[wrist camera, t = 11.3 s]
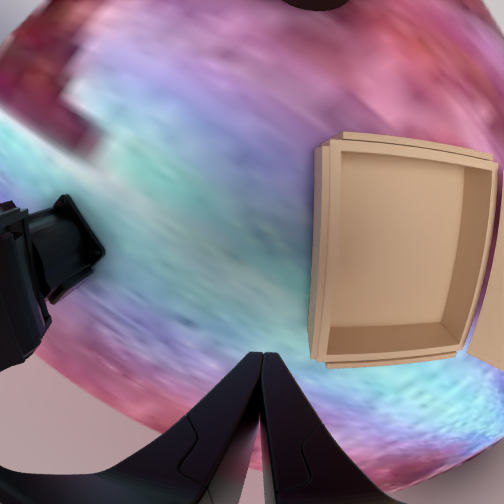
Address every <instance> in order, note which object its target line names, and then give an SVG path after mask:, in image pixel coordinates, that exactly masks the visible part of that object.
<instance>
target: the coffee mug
mask: <svg viewBox="0 0 504 504" xmlns="http://www.w3.org/2000/svg"><path fill="white" fill-rule="evenodd" d="M283 1H284V2H286V3H288V4H290V5H292V6H295V7H297V8H301V9H305V10H312V11H326V10H332V9H335V8H338V7H340V6H342V5H343V4H345V3H346V2H347V1H348V0H283Z"/></svg>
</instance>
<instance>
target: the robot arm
mask: <svg viewBox="0 0 504 504" xmlns="http://www.w3.org/2000/svg"><path fill="white" fill-rule="evenodd" d="M64 199H65V202H64ZM98 251H99V252H100V254H99V253H98ZM104 255H105V250H104V248H103V247H102V246H101V244H100V243H99V241H98V240H97V238H96V237H95V235H94V234H93V233H92V231H91V230H90V228H89V227H88V225H87V224H86V222H85V221H84V219H83V218H82V216H81V214H80V213H79V211H78V210H77V208H76V207H75V205H74V203H73V202H72V200H71V199H70V197H69V196H68V195H67V194H64V195H61V196H60V197H59V199H58V200H57V201H56V203H55V204H54V205H53V207H51V208H48V209H45V210H41V211H38V212H35V213H32V214H29V213H28V209H20V208H18V207H16V206H15V204H14V203H13V201H7V202H4V203H0V372H1V371H3V370H5V369H7V368H9V367H11V366H14V365H18V364H21V363H24V362H25V360H26V359H27V358H28V357H30V356H31V355H32V354H33V352H34V351H35V349H36V348H37V347H38V346H39V345H40V343H41V339H42V338H43V336H44V334H45V333H46V331H47V329H48V328H49V326H50V324H51V323H52V319H51V316H50V315H49V313H48V310H47V306H46V303H45V302H47V301H49V302H50V303H51V304H53V305H55V304H56V303H57V302H59V301H60V300H61V299H63V298H64V297H66V296H67V295H68V294H70V293H71V292H72V291H74V290H75V289H77V288H78V287H79V286H80V285H81V284H82V283H83V282H84V281H85V280H86V279H87V278H88V277H89V276H91V275H92V274H93V269H92V267H93V266H94V265H95V264H96V263H97V262H98V261H99V260H100V259H101V258H102V257H103V256H104ZM259 421H260V431H261V447H262V463H263V479H264V495H265V504H407V503H403V502H400V501H397V500H395V499H393V498H391V497H390V496H388V495H387V494H385V493H384V492H383V491H381V490H380V489H379V488H378V487H377V486H376V485H375V484H374V483H373V482H372V481H371V480H370V479H369V478H368V477H367V476H366V475H365V474H364V472H363V471H362V470H361V469H360V468H359V467H358V466H357V465H356V464H355V463H354V462H353V461H352V460H351V459H350V458H349V457H348V455H347V454H346V453H345V452H344V451H343V450H342V449H341V447H340V446H339V445H338V444H337V442H336V441H335V440H334V438H333V437H332V436H331V434H330V433H329V431H328V430H327V428H326V427H325V425H324V424H323V423H322V421H321V419H320V418H319V416H318V415H317V413H316V412H315V410H314V409H313V407H312V406H311V404H310V402H309V401H308V399H307V398H306V396H305V395H304V393H303V392H302V390H301V388H300V387H299V385H298V384H297V382H296V381H295V379H294V378H293V376H292V374H291V373H290V371H289V370H288V368H287V366H286V365H285V363H284V362H283V360H282V358H281V357H280V355H279V354H278V353H275V352H265V353H264V355H263V353H262V352H249V353H248V354H247V355H246V356H245V357H244V358H243V359H242V360H241V361H240V362H239V363H238V364H237V365H236V366H235V367H234V368H233V369H232V370H231V371H230V372H229V373H228V374H227V375H226V376H225V377H224V378H223V379H222V380H221V381H220V382H219V383H218V384H217V385H216V386H215V387H214V388H213V389H212V390H211V391H210V392H209V393H208V394H207V395H206V396H204V397H203V398H202V399H201V400H200V401H199V402H198V403H197V404H196V405H195V406H194V407H193V408H192V409H191V410H190V411H189V412H188V413H186V415H184V416H183V417H182V418H181V419H180V420H179V421H178V422H177V423H175V424H174V425H173V426H172V427H171V428H169V429H168V430H167V431H166V432H165V433H163V434H162V435H161V436H159V437H158V438H156V439H155V440H154V441H152V442H151V443H150V444H148V445H146V446H145V447H143V448H142V449H140V450H139V451H137V452H136V453H134V454H133V455H131V456H129V457H128V458H126V459H125V460H123V461H121V462H120V463H118V464H116V465H115V466H113V467H111V468H109V469H107V470H105V471H101V472H98V473H93V474H76V475H74V474H73V475H55V474H53V475H52V474H30V473H21V472H16V471H12V470H9V469H6V468H4V467H2V466H0V504H238V503H239V499H240V496H241V492H242V489H243V485H244V481H245V478H246V474H247V470H248V466H249V462H250V459H251V455H252V451H253V447H254V443H255V439H256V435H257V430H258V426H259Z"/></svg>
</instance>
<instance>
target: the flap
mask: <svg viewBox="0 0 504 504" xmlns="http://www.w3.org/2000/svg"><path fill="white" fill-rule="evenodd" d="M466 353H468V354H470V355H472V356H474V357H476V358H478V359H480V360H482V361H484V362H486V363H488V364H490V365H492V366H494V367H496V368H498V369H500V370H502V371H504V170H503V190H502V202H501V213H500V221H499V229H498V236H497V242H496V248H495V253H494V259H493V264H492V268H491V273H490V277H489V282H488V286H487V290H486V294H485V297H484V301H483V304H482V308H481V311H480V315H479V318H478V321H477V324H476V327H475V330H474V333H473V336H472V339H471V342H470V344H469V347H468V350H467V352H466Z"/></svg>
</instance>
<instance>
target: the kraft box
mask: <svg viewBox="0 0 504 504" xmlns="http://www.w3.org/2000/svg"><path fill="white" fill-rule="evenodd" d="M487 160H489V161H487ZM492 161H493V155H492V154H488V153H484V152H480V151H476V150H471V149H467V148H462V147H457V146H452V145H447V144H441V143H436V142H430V141H424V140H417V139H411V138H403V137H396V136H387V135H378V134H368V133H357V132H344V131H343V132H341V133H339V134H337V135H335V136H333V137H332V139H329V140H327V141H325V142H323V143H321V144H320V147H318V148H316V149H314V222H313V249H312V269H311V286H310V301H309V314H308V327H307V332H308V340H309V348H310V357H311V359H316V361H317V362H325V364H326V369H333V368H357V367H373V366H386V365H397V364H407V363H416V362H424V361H432V360H439V359H446V358H452V357H455V356H456V354H457V352H456V351H459V350H463V347H464V345H465V342H466V339H467V336H468V333H469V330H470V327H471V324H472V321H473V318H474V314H475V311H476V307H477V304H478V300H479V297H480V293H481V289H482V285H483V281H484V276H485V272H486V267H487V262H488V257H489V252H490V246H491V240H492V233H493V226H494V218H495V209H496V198H497V183H498V163H496V162H492Z"/></svg>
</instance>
